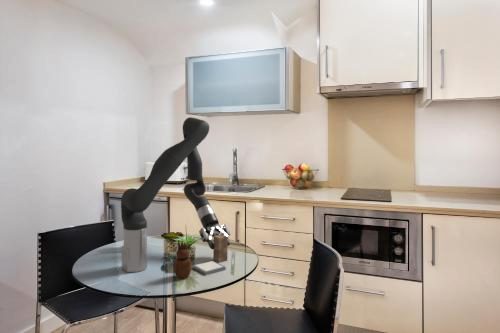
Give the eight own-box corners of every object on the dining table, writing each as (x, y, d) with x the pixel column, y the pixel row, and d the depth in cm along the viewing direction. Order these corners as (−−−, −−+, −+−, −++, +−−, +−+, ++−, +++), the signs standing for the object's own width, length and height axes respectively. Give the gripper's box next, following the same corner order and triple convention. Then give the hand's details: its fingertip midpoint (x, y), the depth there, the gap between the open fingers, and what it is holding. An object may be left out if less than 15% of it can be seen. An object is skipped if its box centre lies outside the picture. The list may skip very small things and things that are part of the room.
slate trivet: (205, 275, 138) (205, 272, 138) (192, 268, 146) (192, 265, 146) (225, 269, 145) (225, 266, 145) (212, 263, 152) (212, 260, 152)
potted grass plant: (174, 280, 132) (174, 242, 131) (173, 274, 138) (173, 238, 137) (192, 279, 134) (192, 241, 133) (190, 273, 140) (190, 237, 139)
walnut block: (219, 262, 153) (219, 238, 152) (213, 259, 157) (213, 236, 156) (227, 260, 156) (227, 236, 155) (221, 257, 159) (221, 234, 159)
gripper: (197, 214, 157) (211, 245, 149) (223, 210, 166) (237, 239, 158) (191, 223, 161) (204, 254, 153) (216, 219, 170) (230, 248, 162)
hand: (221, 246), depth 156 cm, fingers open, 8 cm apart
